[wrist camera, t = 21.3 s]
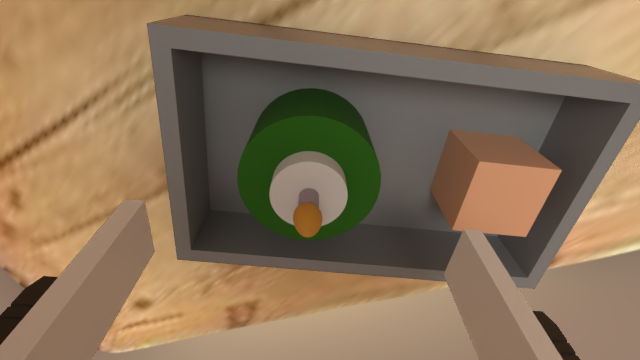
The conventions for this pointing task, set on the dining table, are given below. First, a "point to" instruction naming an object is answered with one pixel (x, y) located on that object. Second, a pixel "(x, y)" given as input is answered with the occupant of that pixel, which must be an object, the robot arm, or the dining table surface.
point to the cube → (491, 183)
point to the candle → (309, 166)
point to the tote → (374, 139)
